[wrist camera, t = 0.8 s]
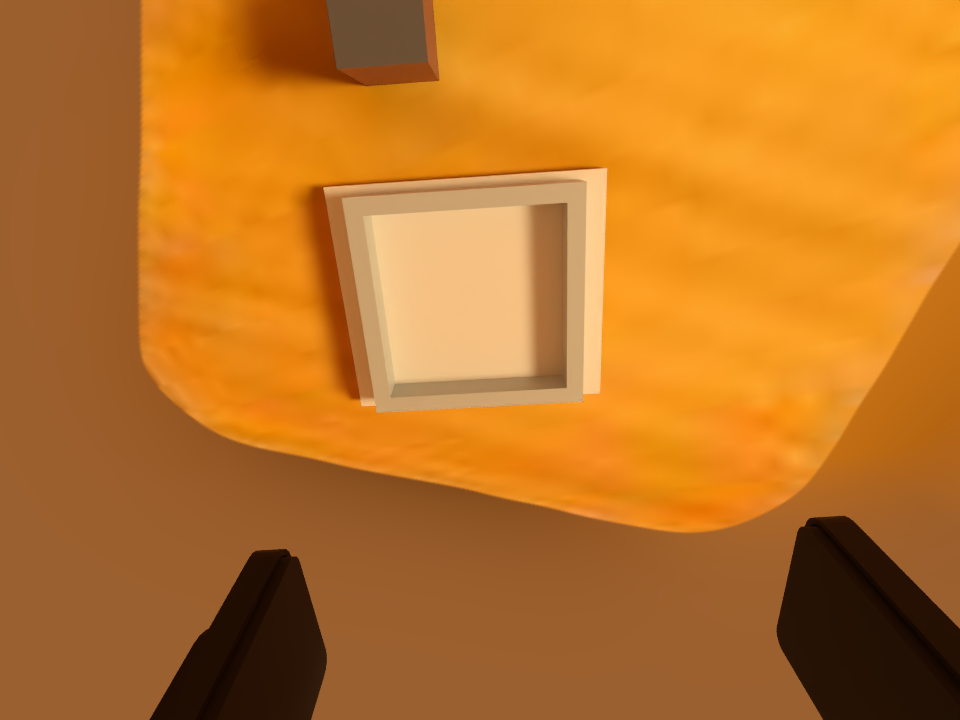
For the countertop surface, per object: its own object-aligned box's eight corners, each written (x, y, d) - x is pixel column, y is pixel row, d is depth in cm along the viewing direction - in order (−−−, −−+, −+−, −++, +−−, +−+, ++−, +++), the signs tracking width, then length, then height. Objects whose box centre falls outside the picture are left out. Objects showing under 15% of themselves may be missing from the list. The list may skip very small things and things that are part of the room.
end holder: (328, 186, 29) (312, 189, 26) (603, 167, 29) (615, 169, 26) (364, 399, 34) (354, 420, 32) (596, 386, 34) (606, 407, 31)
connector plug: (349, -41, 25) (311, -95, 19) (428, -47, 25) (413, -104, 19) (366, 86, 27) (336, 69, 22) (439, 80, 27) (427, 62, 22)
